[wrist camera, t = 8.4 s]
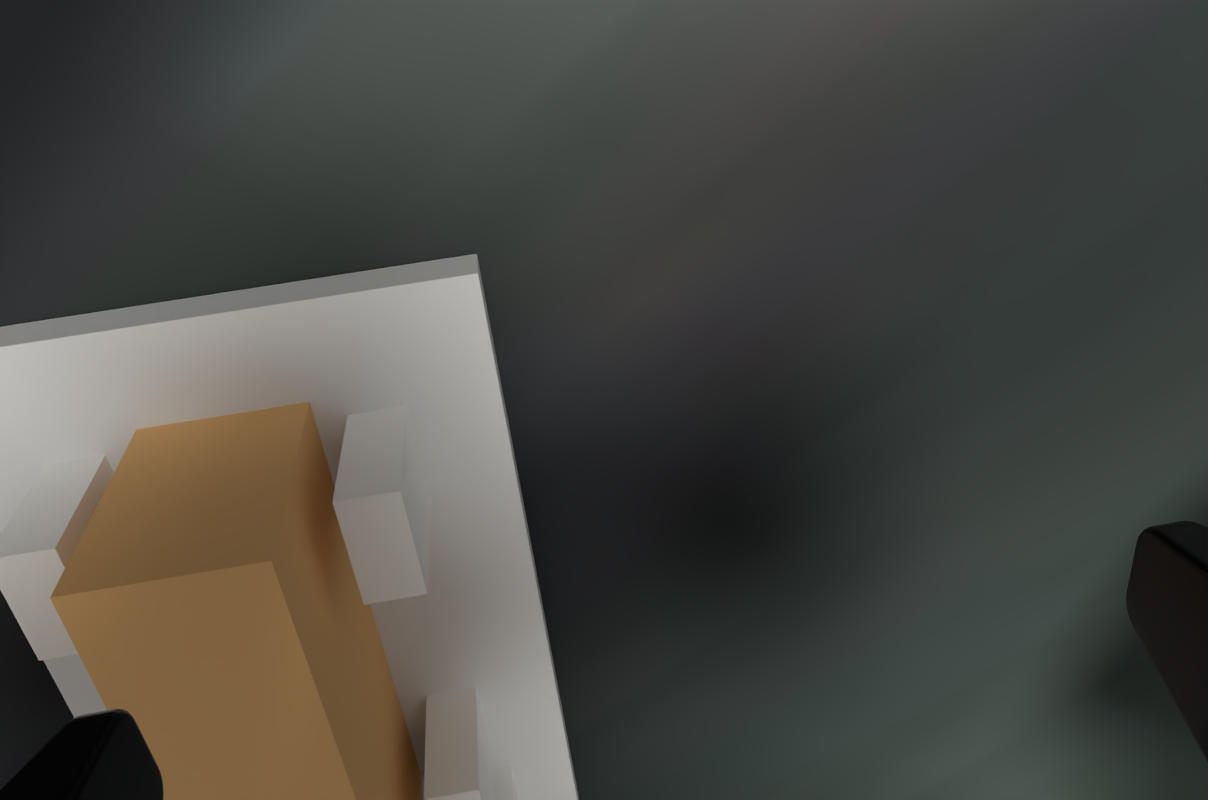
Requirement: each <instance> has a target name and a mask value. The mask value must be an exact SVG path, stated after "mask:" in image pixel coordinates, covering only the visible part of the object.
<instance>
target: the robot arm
mask: <svg viewBox="0 0 1208 800" xmlns="http://www.w3.org/2000/svg"><path fill="white" fill-rule="evenodd" d="M1126 603H1127V610H1128V614H1129V617H1130V620H1131V622H1132V624H1133V626H1134V628H1135V630H1136V632H1137V634H1138V636H1139V637H1140V639H1141V641H1142V643H1143V645H1144V647H1145V648H1146V650H1147V652H1148V654H1149V656H1150V658H1151V659H1152V661H1153V663H1154V665H1155V667H1156V669H1157V670H1158V672H1159V674H1160V676H1161V678H1162V680H1163V681H1164V683H1165V685H1166V687H1167V689H1168V691H1169V692H1170V694H1171V696H1172V698H1173V700H1174V702H1175V703H1176V705H1177V707H1178V709H1179V711H1180V713H1181V714H1182V716H1183V718H1184V720H1185V722H1186V723H1187V725H1188V727H1189V729H1190V731H1191V733H1192V734H1193V736H1194V738H1195V740H1196V742H1197V744H1198V745H1199V747H1200V749H1201V751H1202V752H1203V754H1204V756H1205V758H1206V759H1207V761H1208V528H1207V527H1205V526H1203V525H1200V524H1197V523H1195V522H1190V521H1180V522H1175V523H1169V524H1163V525H1158V526H1152V527H1149V528H1147V529H1145V530H1144V531H1143V532H1142V533H1141V534H1140V536H1139V537H1138V540H1137V544H1136V549H1135V554H1134V559H1133V564H1132V569H1131V574H1130V579H1129V584H1128V589H1127V595H1126ZM163 797H164V791H163V780H162V776H161V772H160V770H159V767H158V765H157V763H156V761H155V759H154V757H153V755H152V753H151V751H150V749H149V747H148V745H147V743H146V741H145V739H144V737H143V735H142V733H141V731H140V729H139V727H138V725H137V723H136V721H135V719H134V718H133V716H132V715H131V714H130V713H129V712H128V711H126V710H124V709H112V710H106V711H100V712H95V713H89V714H83V715H80V716H77V717H75V718H73V719H72V720H70V721H69V722H68V723H67V724H66V725H65V726H64V727H63V728H62V729H61V730H60V731H59V732H58V733H57V734H56V735H55V736H54V737H53V738H52V739H51V740H50V741H49V742H48V743H47V744H46V745H45V746H44V747H43V748H42V749H41V750H40V751H39V752H38V753H37V754H36V755H35V756H34V757H33V758H32V759H31V760H30V761H29V762H28V763H27V764H26V765H25V766H24V767H23V768H22V769H21V770H20V771H19V772H18V773H17V774H16V775H15V776H14V777H13V778H12V779H11V780H10V781H9V782H8V783H7V784H6V785H5V786H4V787H3V788H2V789H1V790H0V800H163Z"/></svg>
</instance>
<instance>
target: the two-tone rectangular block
mask: <svg viewBox="0 0 1208 800" xmlns="http://www.w3.org/2000/svg"><path fill="white" fill-rule="evenodd" d="M334 490H335V485H334V482H333V479H332V475H331V472H330V469H329V465H328V462H327V459H326V455H325V452H324V449H323V445H322V442H321V439H320V435H319V432H318V429H317V425H316V422H315V419H314V415H313V412H312V409H311V405H310V402H306V403H299V404H293V405H287V406H281V407H274V408H268V409H262V410H255V411H249V412H243V413H236V414H230V415H224V416H218V417H211V418H205V419H199V420H192V421H186V422H180V423H173V424H167V425H161V426H154V427H148V428H142V429H136V431H135V433H134V435H133V437H132V439H131V441H130V443H129V444H128V446H127V448H126V450H125V452H124V454H123V456H122V458H121V460H120V462H119V464H118V466H117V468H116V470H115V472H114V474H113V476H112V478H111V480H110V482H109V484H108V485H107V487H106V489H105V491H104V493H103V495H102V497H101V499H100V501H99V503H98V505H97V507H96V509H95V511H94V513H93V515H92V517H91V519H90V521H89V523H88V525H87V526H86V528H85V530H84V532H83V534H82V536H81V538H80V540H79V542H78V544H77V546H76V548H75V550H74V552H73V554H72V556H71V558H70V560H69V562H68V564H67V566H66V568H65V569H64V571H63V573H62V575H61V577H60V579H59V581H58V583H57V585H56V587H55V589H54V591H53V593H52V595H51V597H50V599H51V601H52V603H53V605H54V607H55V609H56V611H57V613H58V615H59V617H60V619H61V621H62V623H63V625H64V626H65V628H66V630H67V632H68V634H69V636H70V638H71V640H72V642H73V644H74V646H75V648H76V650H77V652H78V654H79V656H80V658H81V660H82V662H83V664H84V666H85V668H86V670H87V671H88V673H89V675H90V677H91V679H92V681H93V683H94V685H95V687H96V689H97V691H98V693H99V695H100V697H101V699H102V701H103V703H104V705H105V707H106V709H107V710H112V709H124V710H126V711H128V712H129V713H130V714H131V715H132V716H133V718H134V719H135V721H136V723H137V725H138V727H139V729H140V731H141V733H142V735H143V737H144V739H145V741H146V743H147V745H148V747H149V749H150V751H151V753H152V755H153V757H154V759H155V761H156V763H157V765H158V767H159V770H160V772H161V776H162V780H163V791H164V797H163V800H424V771H423V772H420V769H419V765H418V762H417V759H416V755H415V752H414V749H413V745H412V742H411V739H410V735H409V732H408V729H407V725H406V722H405V719H404V715H403V712H402V709H401V705H400V702H399V699H398V695H397V692H396V689H395V685H394V682H393V679H392V675H391V672H390V669H389V665H388V662H387V659H386V655H385V652H384V649H383V645H382V642H381V639H380V635H379V632H378V629H377V625H376V622H375V619H374V615H373V612H372V609H371V605H370V604H366V605H364V604H363V600H362V597H361V594H360V591H359V587H358V584H357V581H356V578H355V574H354V571H353V568H352V565H351V561H350V558H349V555H348V551H347V548H346V545H345V542H344V538H343V535H342V532H341V529H340V525H339V522H338V519H337V516H336V512H335V509H334V506H333V503H332V502H333V496H334Z"/></svg>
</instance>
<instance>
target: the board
mask: <svg viewBox="0 0 1208 800" xmlns="http://www.w3.org/2000/svg"><path fill="white" fill-rule="evenodd" d="M306 402H310V405H311V409H312V412H313V415H314V419H315V422H316V425H317V429H318V432H319V435H320V439H321V442H322V445H323V449H324V452H325V455H326V459H327V462H328V465H329V469H330V472H331V475H332V479H333V482H334V485H335V490H334V496H333V502H332V503H333V506H334V509H335V512H336V516H337V519H338V522H339V525H340V529H341V532H342V535H343V538H344V542H345V545H346V548H347V551H348V555H349V558H350V561H351V565H352V568H353V571H354V574H355V578H356V581H357V584H358V587H359V591H360V594H361V597H362V600H363V604H364V605H366V604H370V605H371V609H372V612H373V615H374V619H375V622H376V625H377V629H378V632H379V635H380V639H381V642H382V645H383V649H384V652H385V655H386V659H387V662H388V665H389V669H390V672H391V675H392V679H393V682H394V685H395V689H396V692H397V695H398V699H399V702H400V705H401V709H402V712H403V715H404V719H405V722H406V725H407V729H408V732H409V735H410V739H411V742H412V745H413V749H414V752H415V755H416V759H417V762H418V765H419V769H420V772H423V771H424V800H579V796H578V791H577V785H576V780H575V775H574V769H573V764H572V759H571V753H570V748H569V743H568V737H567V732H566V727H565V721H564V716H563V711H562V705H561V700H560V695H559V689H558V684H557V679H556V673H555V668H554V663H553V657H552V652H551V647H550V641H549V636H548V631H547V625H546V620H545V615H544V609H543V604H542V599H541V593H540V588H539V583H538V577H537V572H536V567H535V561H534V556H533V551H532V545H531V540H530V535H529V529H528V524H527V519H526V513H525V508H524V503H523V497H522V492H521V487H520V481H519V476H518V471H517V465H516V460H515V455H514V449H513V444H512V439H511V433H510V428H509V423H508V417H507V412H506V407H505V401H504V396H503V391H502V385H501V380H500V375H499V369H498V364H497V359H496V353H495V348H494V343H493V337H492V332H491V327H490V321H489V316H488V311H487V305H486V300H485V295H484V289H483V284H482V279H481V273H480V268H479V263H478V257H477V254H471V255H465V256H458V257H452V258H445V259H439V260H432V261H426V262H419V263H413V264H406V265H400V266H393V267H387V268H380V269H374V270H367V271H361V272H354V273H348V274H341V275H335V276H328V277H322V278H315V279H309V280H302V281H296V282H289V283H283V284H276V285H270V286H263V287H257V288H250V289H244V290H237V291H231V292H224V293H217V294H211V295H204V296H198V297H191V298H185V299H178V300H172V301H165V302H159V303H152V304H146V305H139V306H133V307H126V308H120V309H113V310H107V311H100V312H94V313H87V314H81V315H74V316H68V317H61V318H55V319H48V320H42V321H35V322H29V323H22V324H16V325H9V326H3V327H0V590H1V592H2V594H3V596H4V597H5V599H6V601H7V603H8V605H9V607H10V608H11V610H12V612H13V614H14V616H15V618H16V619H17V621H18V623H19V625H20V627H21V629H22V631H23V632H24V634H25V636H26V638H27V640H28V642H29V643H30V645H31V647H32V649H33V651H34V653H35V654H36V656H37V658H38V660H39V661H41V660H43V661H44V663H45V664H46V666H47V668H48V670H49V672H50V674H51V675H52V677H53V679H54V681H55V683H56V685H57V687H58V688H59V690H60V692H61V694H62V696H63V698H64V699H65V701H66V703H67V705H68V707H69V709H70V711H71V712H72V714H73V716H74V718H75V717H77V716H80V715H83V714H89V713H95V712H100V711H106V710H107V709H106V707H105V705H104V703H103V701H102V699H101V697H100V695H99V693H98V691H97V689H96V687H95V685H94V683H93V681H92V679H91V677H90V675H89V673H88V671H87V670H86V668H85V666H84V664H83V662H82V660H81V658H80V656H79V654H78V652H77V650H76V648H75V646H74V644H73V642H72V640H71V638H70V636H69V634H68V632H67V630H66V628H65V626H64V625H63V623H62V621H61V619H60V617H59V615H58V613H57V611H56V609H55V607H54V605H53V603H52V601H51V599H50V597H51V595H52V593H53V591H54V589H55V587H56V585H57V583H58V581H59V579H60V577H61V575H62V573H63V571H64V569H65V568H66V566H67V564H68V562H69V560H70V558H71V556H72V554H73V552H74V550H75V548H76V546H77V544H78V542H79V540H80V538H81V536H82V534H83V532H84V530H85V528H86V526H87V525H88V523H89V521H90V519H91V517H92V515H93V513H94V511H95V509H96V507H97V505H98V503H99V501H100V499H101V497H102V495H103V493H104V491H105V489H106V487H107V485H108V484H109V482H110V480H111V478H112V476H113V474H114V472H115V470H116V468H117V466H118V464H119V462H120V460H121V458H122V456H123V454H124V452H125V450H126V448H127V446H128V444H129V443H130V441H131V439H132V437H133V435H134V433H135V431H136V429H142V428H148V427H154V426H161V425H167V424H173V423H180V422H186V421H192V420H199V419H205V418H211V417H218V416H224V415H230V414H236V413H243V412H249V411H255V410H262V409H268V408H274V407H281V406H287V405H293V404H299V403H306Z"/></svg>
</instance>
